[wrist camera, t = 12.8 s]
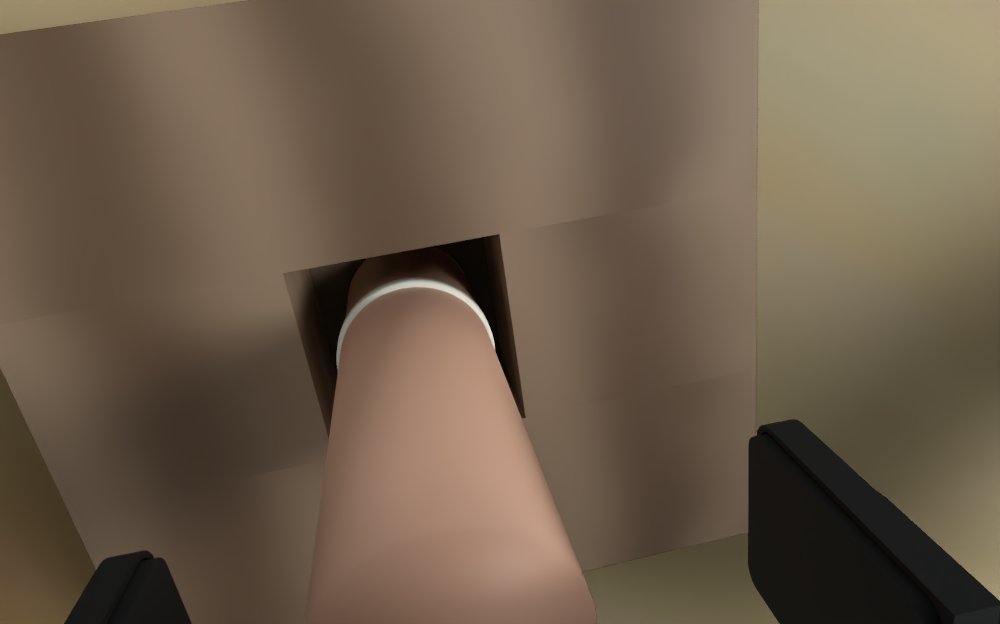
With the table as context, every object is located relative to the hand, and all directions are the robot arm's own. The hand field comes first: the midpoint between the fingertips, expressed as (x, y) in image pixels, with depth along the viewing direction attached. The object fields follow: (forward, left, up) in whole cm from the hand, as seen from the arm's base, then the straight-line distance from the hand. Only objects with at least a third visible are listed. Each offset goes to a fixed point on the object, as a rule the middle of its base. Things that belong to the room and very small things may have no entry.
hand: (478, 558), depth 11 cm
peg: (+1, 0, -12) cm, 12 cm away
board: (+1, 0, -12) cm, 12 cm away
